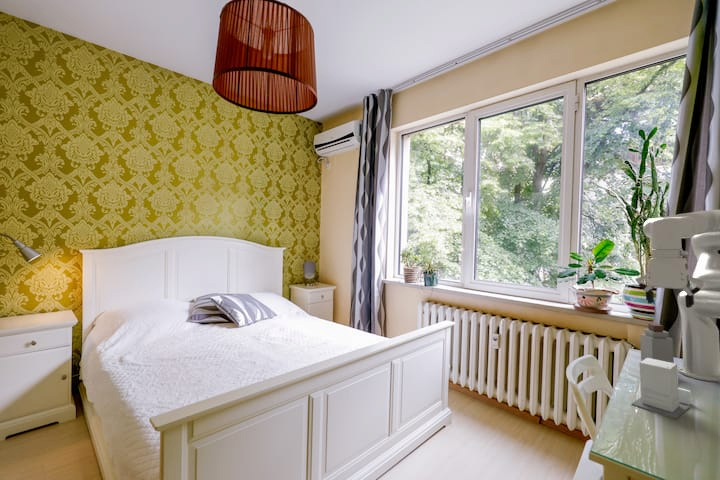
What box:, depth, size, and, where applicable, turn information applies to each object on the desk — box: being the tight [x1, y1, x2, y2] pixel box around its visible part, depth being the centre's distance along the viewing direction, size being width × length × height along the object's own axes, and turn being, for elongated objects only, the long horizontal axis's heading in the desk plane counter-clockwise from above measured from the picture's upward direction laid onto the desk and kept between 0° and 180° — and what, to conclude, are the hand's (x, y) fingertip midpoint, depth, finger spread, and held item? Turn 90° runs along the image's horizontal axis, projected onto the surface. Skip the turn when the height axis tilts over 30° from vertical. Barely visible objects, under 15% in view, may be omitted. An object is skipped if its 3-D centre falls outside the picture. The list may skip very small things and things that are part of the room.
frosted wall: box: [639, 383, 692, 406], centre depth 105 cm, size 1×12×4 cm, turn 31°
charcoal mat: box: [631, 397, 690, 420], centre depth 99 cm, size 12×10×1 cm
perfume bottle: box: [639, 323, 675, 363], centre depth 125 cm, size 7×7×18 cm
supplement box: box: [638, 358, 680, 412], centre depth 99 cm, size 7×7×13 cm
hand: (669, 304), depth 110 cm, fingers open, 9 cm apart
